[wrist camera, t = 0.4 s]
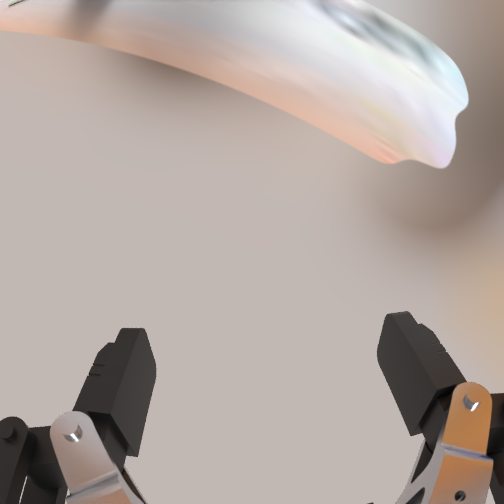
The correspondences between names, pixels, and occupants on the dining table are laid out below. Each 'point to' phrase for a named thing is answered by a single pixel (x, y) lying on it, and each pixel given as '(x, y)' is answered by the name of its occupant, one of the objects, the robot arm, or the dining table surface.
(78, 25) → the dining table surface
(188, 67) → the dining table surface
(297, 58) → the dining table surface
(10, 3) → the mat
